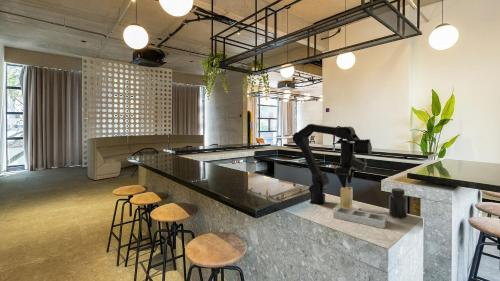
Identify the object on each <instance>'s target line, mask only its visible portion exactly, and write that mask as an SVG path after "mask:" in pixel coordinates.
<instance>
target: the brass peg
mask: <svg viewBox="0 0 500 281" xmlns="http://www.w3.org/2000/svg"><path fill="white" fill-rule="evenodd" d="M353 188H354V187H353V186H347V185H346V188H343V186H342V187H340V199H339V200H340V203H339V204H340V207H344V208H349V209H352V206H353V194H354V193H353V192H354V191H353Z"/></svg>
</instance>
